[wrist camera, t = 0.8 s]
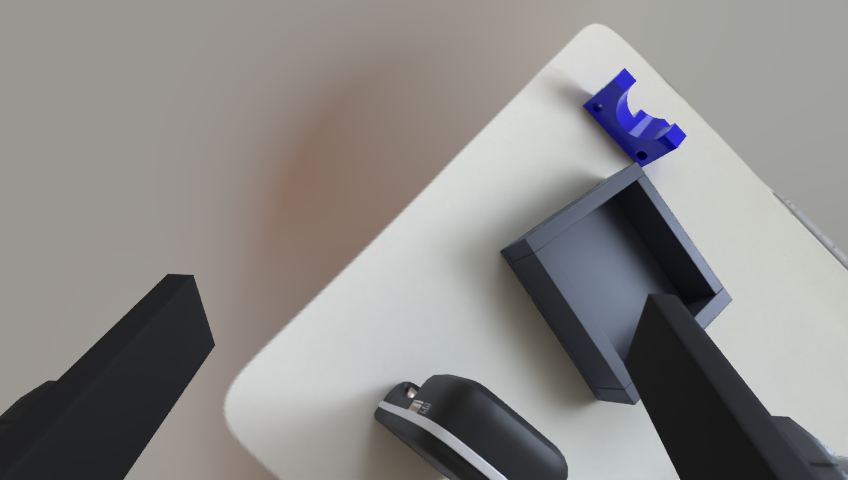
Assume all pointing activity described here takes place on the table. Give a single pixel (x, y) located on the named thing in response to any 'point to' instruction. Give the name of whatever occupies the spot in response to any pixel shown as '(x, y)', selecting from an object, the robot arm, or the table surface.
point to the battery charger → (468, 432)
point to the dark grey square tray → (611, 275)
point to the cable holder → (632, 122)
